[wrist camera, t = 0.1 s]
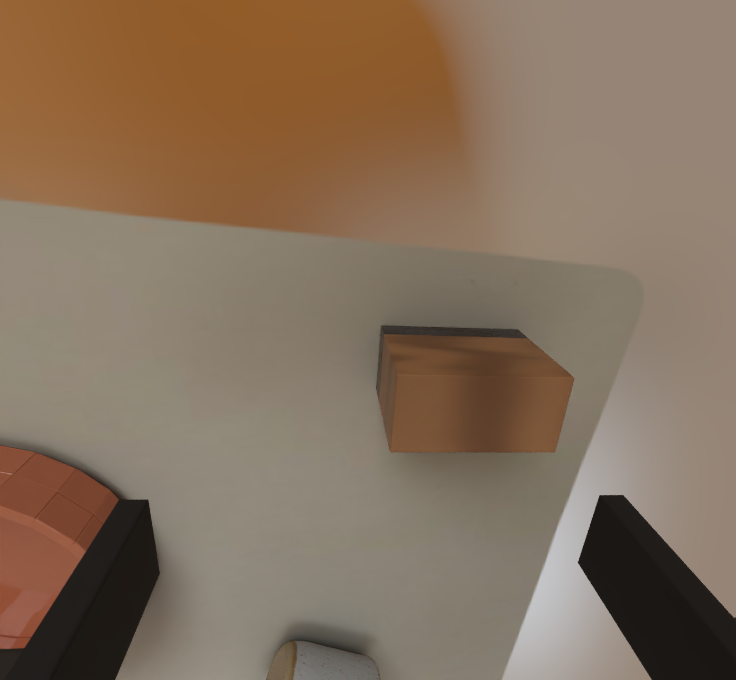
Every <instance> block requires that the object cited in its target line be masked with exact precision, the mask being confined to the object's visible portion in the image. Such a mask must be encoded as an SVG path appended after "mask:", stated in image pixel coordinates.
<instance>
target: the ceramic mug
mask: <svg viewBox="0 0 736 680" xmlns="http://www.w3.org/2000/svg"><path fill="white" fill-rule="evenodd" d="M266 680H380V675H379V670H378V667H377V665H376V663H375V661H374V660H373V659H372V658H370V657H368V656H364V655H359V654H355V653H351V652H348V651H344V650H340V649H335V648H330V647H326V646H323V645H319V644H315V643H311V642H307V641H289V642H287V643H285V644H284V645H283V646H282V647H281V648H280V649H279V650H278V652H277V654H276V655H275V657H274V659H273V662H272V664H271V666H270V669H269V672H268V675H267V678H266Z"/></svg>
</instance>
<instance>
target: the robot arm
mask: <svg viewBox="0 0 736 680" xmlns="http://www.w3.org/2000/svg"><path fill="white" fill-rule="evenodd" d="M578 564H579V565H580V567H581V568H582V570H583V571H584V573H585V575H586V576H587V578H588V579H589V581H590V582H591V584H592V586H593V587H594V589H595V590H596V592H597V593H598V595H599V597H600V598H601V600H602V601H603V603H604V604H605V606H606V608H607V609H608V611H609V613H610V614H611V616H612V617H613V619H614V621H615V622H616V623H617V625H618V627H619V628H620V630H621V632H622V633H623V635H624V636H625V638H626V640H627V641H628V643H629V644H630V645H631V647H632V649H633V650H634V652H635V654H636V655H637V657H638V658H639V660H640V661H641V663H642V665H643V666H644V668H645V670H646V671H647V673H648V674H649V676H650V677H651V679H652V680H736V618H733V616H732V615H731V614H730V613H729V612H728V611H727V610H726V609H725V608H724V606H723V605H722V604H721V603H720V602H719V601H718V600H717V599H716V598H715V596H714V595H713V594H712V593H711V592H710V591H709V590H708V589H707V588H706V587H705V585H704V584H703V583H702V582H701V581H700V580H699V579H698V578H697V577H696V575H695V574H694V573H693V572H692V571H691V570H690V569H689V568H688V567H687V565H686V564H685V563H684V562H683V561H682V560H681V559H680V558H679V557H678V555H677V554H676V553H675V552H674V551H673V550H672V549H671V548H670V547H669V546H668V544H667V543H666V542H665V541H664V540H663V539H662V538H661V537H660V535H658V533H657V532H656V531H655V530H654V529H653V528H652V527H651V526H650V524H648V522H647V521H646V520H645V519H644V518H643V517H642V516H641V515H640V514H639V512H638V511H637V510H636V509H635V508H634V507H633V506H632V504H631V503H630V502H629V501H628V500H627V499H626V498H625V497H624V496H623V495H600V496H599V499H598V502H597V505H596V508H595V512H594V514H593V518H592V521H591V524H590V527H589V530H588V533H587V536H586V539H585V542H584V545H583V549H582V552H581V555H580V558H579V561H578ZM159 574H160V572H159V566H158V559H157V553H156V546H155V540H154V534H153V527H152V521H151V514H150V508H149V501H148V500H118V502H117V503H116V505H115V507H114V508H113V510H112V511H111V513H110V514H109V516H108V518H107V519H106V521H105V522H104V524H103V525H102V527H101V529H100V530H99V532H98V533H97V535H96V536H95V538H94V540H93V541H92V543H91V544H90V546H89V547H88V549H87V551H86V552H85V554H84V555H83V557H82V558H81V560H80V562H79V563H78V565H77V566H76V568H75V569H74V571H73V573H72V574H71V576H70V577H69V579H68V580H67V582H66V584H65V585H64V587H63V588H62V590H61V591H60V593H59V595H58V596H57V598H56V599H55V601H54V602H53V604H52V606H51V607H50V609H49V610H48V612H47V613H46V615H45V617H44V618H43V620H42V621H41V623H40V624H39V626H38V628H37V629H36V631H35V632H34V634H33V635H32V637H31V639H30V640H29V642H28V643H27V645H26V646H25V648H13V649H0V680H115V679H116V676H117V674H118V672H119V669H120V667H121V664H122V662H123V660H124V657H125V655H126V653H127V650H128V648H129V645H130V643H131V641H132V638H133V636H134V634H135V631H136V629H137V626H138V624H139V622H140V619H141V617H142V614H143V612H144V610H145V607H146V605H147V603H148V600H149V598H150V595H151V593H152V591H153V588H154V586H155V583H156V581H157V579H158V576H159Z"/></svg>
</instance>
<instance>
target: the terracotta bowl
mask: <svg viewBox="0 0 736 680" xmlns="http://www.w3.org/2000/svg"><path fill="white" fill-rule="evenodd" d="M118 500H119V499H118V498H117V497H116V496H115V495H114V494H113V493H112V492H111V491H110V490H109V489H107V488H106V487H104V486H103V485H101V484H100V483H98V482H97V481H95V480H94V479H92V478H91V477H89V476H87V475H86V474H84V473H83V472H81V471H80V470H78V469H76V468H74V467H71V466H69V465H66V464H64V463H61V462H59V461H56V460H54V459H51V458H49V457H46V456H44V455H41V454H39V453H36V452H32V451H27V450H21V449H16V448H11V447H6V446H1V445H0V649H13V648H25V646H26V645H27V643H28V642H29V640H30V639H31V637H32V635H33V634H34V632H35V631H36V629H37V628H38V626H39V624H40V623H41V621H42V620H43V618H44V617H45V615H46V613H47V612H48V610H49V609H50V607H51V606H52V604H53V602H54V601H55V599H56V598H57V596H58V595H59V593H60V591H61V590H62V588H63V587H64V585H65V584H66V582H67V580H68V579H69V577H70V576H71V574H72V573H73V571H74V569H75V568H76V566H77V565H78V563H79V562H80V560H81V558H82V557H83V555H84V554H85V552H86V551H87V549H88V547H89V546H90V544H91V543H92V541H93V540H94V538H95V536H96V535H97V533H98V532H99V530H100V529H101V527H102V525H103V524H104V522H105V521H106V519H107V518H108V516H109V514H110V513H111V511H112V510H113V508H114V507H115V505H116V503H117V502H118Z"/></svg>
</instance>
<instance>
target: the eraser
mask: <svg viewBox="0 0 736 680" xmlns="http://www.w3.org/2000/svg"><path fill="white" fill-rule="evenodd" d="M573 382H574V377H573V376H572V375H571V374H569V373H568V372H567V371H566V370H565V369H564V368H562V367H561V366H560V365H559V364H558V363H556V362H555V361H554V360H553V359H552V358H551V357H549V356H548V355H547V354H546V353H545V352H544V351H542V350H541V349H540V348H539V347H538V346H536V345H535V344H534V343H533V342H532V341H531V340H529V339H528V338H527V337H526V336H525V335H524V334H523V333H521V332H520V331H519V330H512V329H478V328H445V327H411V326H381V333H380V346H379V359H378V373H377V386H376V390H377V394H378V399H379V403H380V408H381V412H382V417H383V422H384V426H385V431H386V436H387V440H388V445H389V450H390V452H555V451H556V447H557V443H558V439H559V435H560V432H561V428H562V424H563V420H564V416H565V412H566V409H567V405H568V401H569V397H570V393H571V390H572V386H573Z"/></svg>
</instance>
